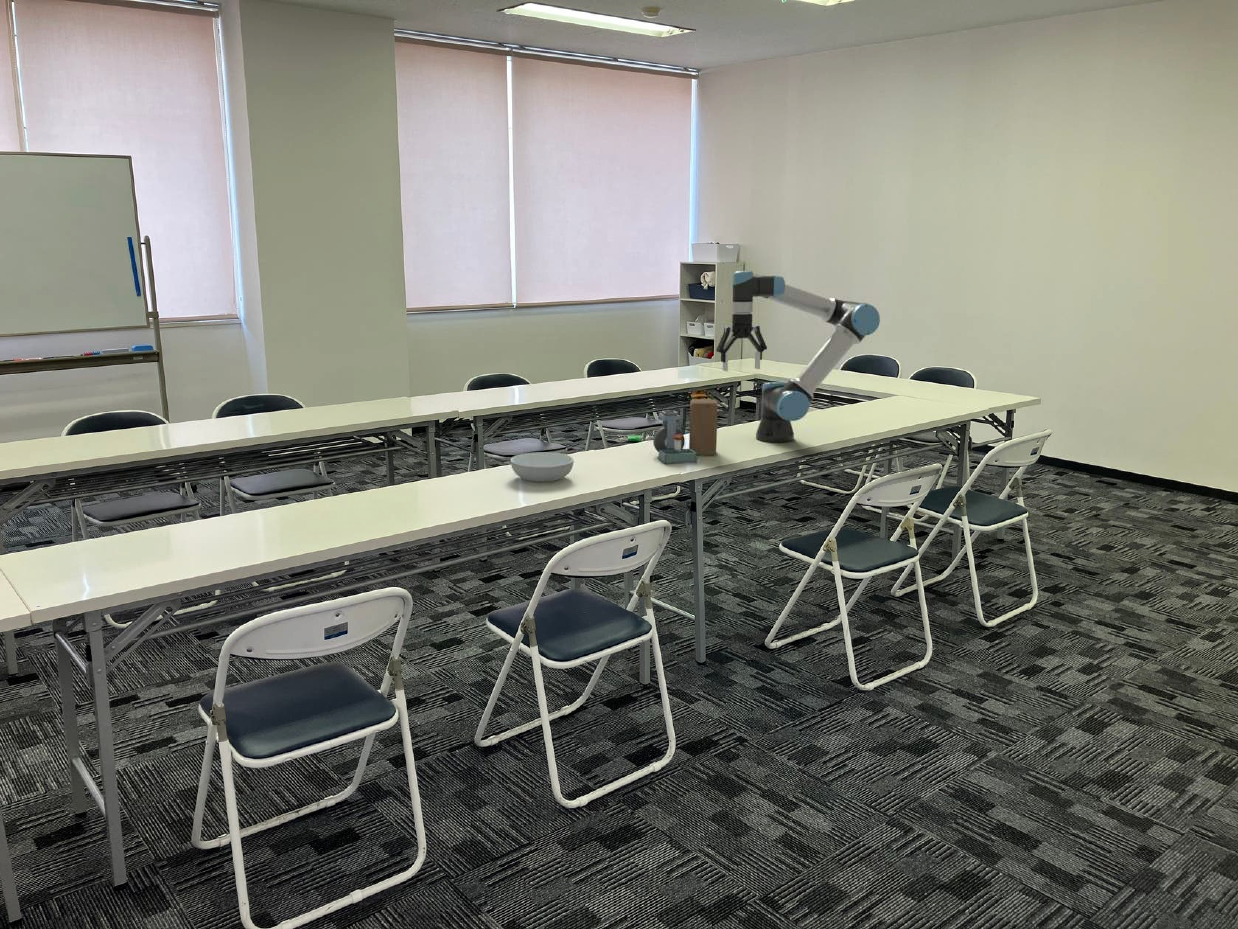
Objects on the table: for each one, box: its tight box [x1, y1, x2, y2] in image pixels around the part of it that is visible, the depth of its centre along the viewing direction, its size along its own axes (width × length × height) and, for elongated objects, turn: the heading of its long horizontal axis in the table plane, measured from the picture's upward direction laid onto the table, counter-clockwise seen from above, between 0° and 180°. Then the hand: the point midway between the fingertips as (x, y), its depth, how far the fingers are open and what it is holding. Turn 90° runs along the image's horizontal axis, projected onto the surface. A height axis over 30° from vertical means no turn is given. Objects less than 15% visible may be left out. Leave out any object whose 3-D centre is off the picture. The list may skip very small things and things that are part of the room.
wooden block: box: [688, 398, 719, 457], centre depth 345 cm, size 10×10×20 cm
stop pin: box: [673, 434, 684, 454], centre depth 334 cm, size 3×3×9 cm
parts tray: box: [658, 448, 698, 465], centre depth 335 cm, size 12×8×4 cm, turn 105°
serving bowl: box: [510, 451, 575, 483], centre depth 308 cm, size 21×21×7 cm
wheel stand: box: [652, 410, 686, 453], centre depth 341 cm, size 11×6×16 cm, turn 105°
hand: (741, 369), depth 352 cm, fingers open, 13 cm apart
